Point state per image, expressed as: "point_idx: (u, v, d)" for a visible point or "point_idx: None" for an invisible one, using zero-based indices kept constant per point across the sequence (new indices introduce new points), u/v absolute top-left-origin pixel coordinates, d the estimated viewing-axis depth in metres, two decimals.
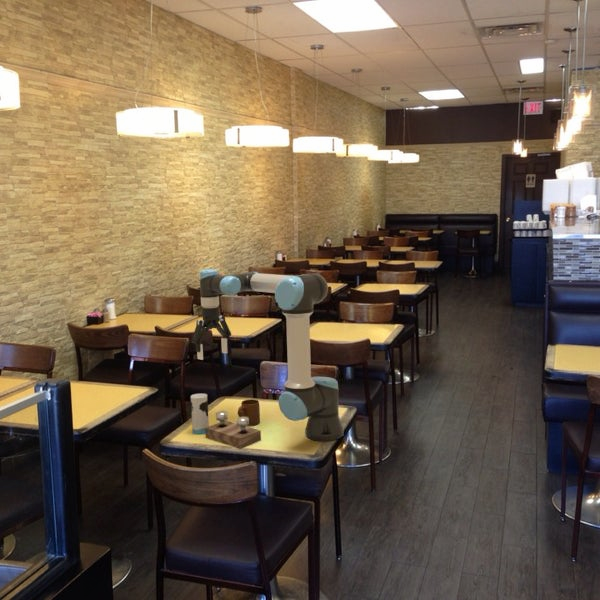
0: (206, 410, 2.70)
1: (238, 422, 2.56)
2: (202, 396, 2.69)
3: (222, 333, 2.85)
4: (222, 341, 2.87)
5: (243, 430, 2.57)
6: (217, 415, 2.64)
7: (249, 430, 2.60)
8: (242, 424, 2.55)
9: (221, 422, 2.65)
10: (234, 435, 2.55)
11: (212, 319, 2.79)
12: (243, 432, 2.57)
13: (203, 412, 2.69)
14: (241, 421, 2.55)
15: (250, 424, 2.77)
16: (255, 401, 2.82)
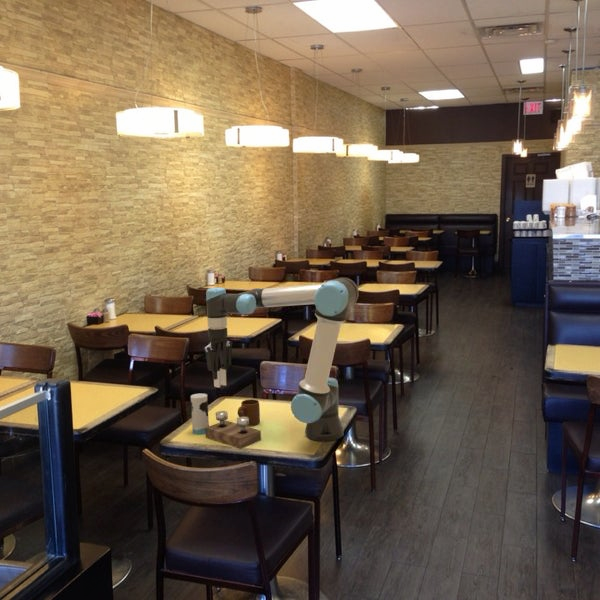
0: (206, 410, 2.70)
1: (238, 422, 2.56)
2: (202, 396, 2.69)
3: (223, 361, 2.63)
4: (220, 372, 2.64)
5: (243, 430, 2.57)
6: (217, 415, 2.64)
7: (249, 430, 2.60)
8: (242, 424, 2.55)
9: (221, 422, 2.65)
10: (234, 435, 2.55)
11: (219, 341, 2.60)
12: (243, 432, 2.57)
13: (203, 412, 2.69)
14: (241, 421, 2.55)
15: (250, 424, 2.77)
16: (255, 401, 2.82)
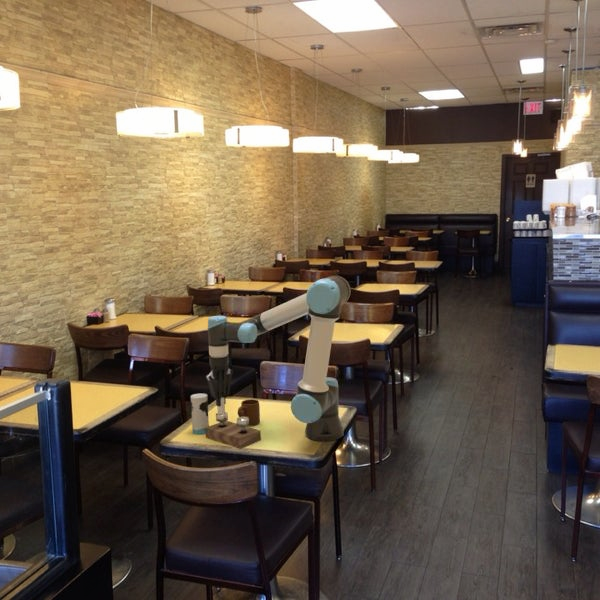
0: (206, 410, 2.70)
1: (238, 422, 2.56)
2: (202, 396, 2.69)
3: (222, 389, 2.64)
4: None
5: (243, 430, 2.57)
6: (217, 416, 2.64)
7: (249, 430, 2.60)
8: (242, 424, 2.55)
9: (221, 423, 2.65)
10: (234, 435, 2.55)
11: (221, 369, 2.62)
12: (243, 432, 2.57)
13: (203, 412, 2.69)
14: (241, 421, 2.55)
15: (250, 424, 2.77)
16: (255, 401, 2.82)
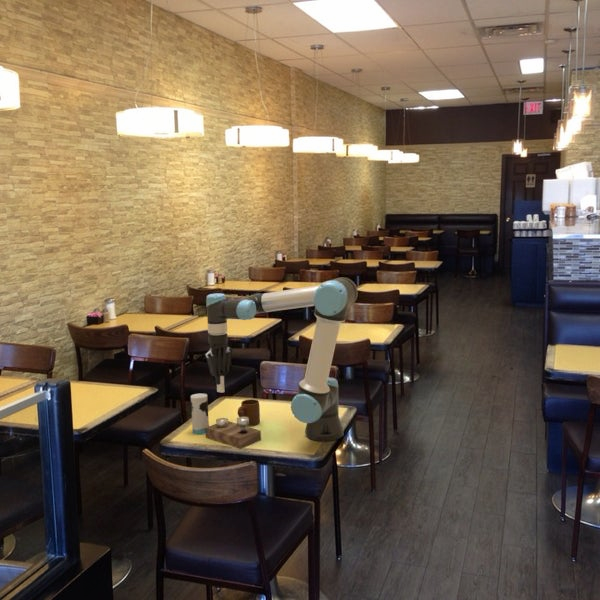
0: (206, 410, 2.70)
1: (238, 422, 2.56)
2: (202, 396, 2.69)
3: (221, 367, 2.63)
4: None
5: (243, 430, 2.57)
6: (217, 422, 2.64)
7: (249, 430, 2.60)
8: (242, 424, 2.55)
9: None
10: (234, 435, 2.55)
11: (220, 347, 2.61)
12: (243, 432, 2.57)
13: (203, 412, 2.69)
14: (241, 421, 2.55)
15: (250, 424, 2.77)
16: (255, 401, 2.82)
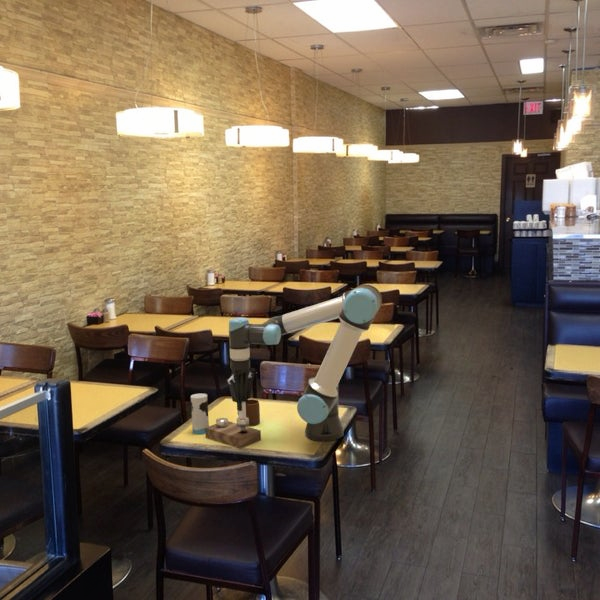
0: (206, 410, 2.70)
1: (238, 422, 2.56)
2: (202, 396, 2.69)
3: (243, 393, 2.56)
4: None
5: (243, 430, 2.57)
6: (217, 422, 2.64)
7: (249, 430, 2.60)
8: (242, 424, 2.55)
9: None
10: (234, 435, 2.55)
11: (242, 372, 2.54)
12: (243, 432, 2.57)
13: (203, 412, 2.69)
14: (241, 421, 2.55)
15: (250, 424, 2.77)
16: (255, 401, 2.82)
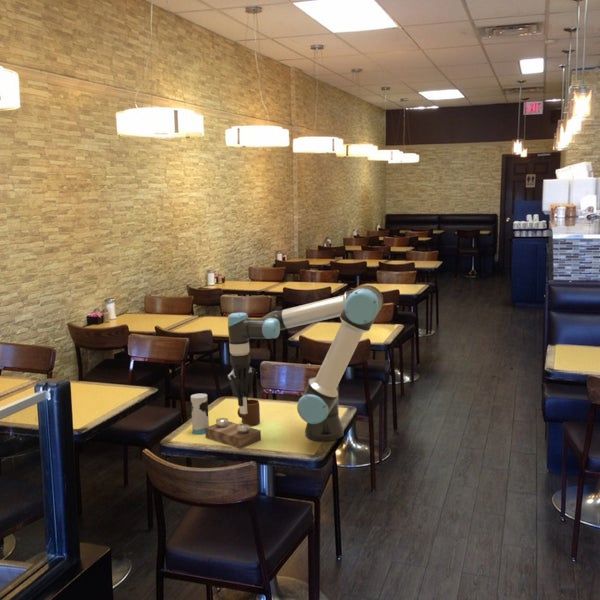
0: (206, 410, 2.70)
1: (238, 429, 2.56)
2: (202, 396, 2.69)
3: (244, 388, 2.56)
4: None
5: None
6: (217, 422, 2.64)
7: (249, 430, 2.60)
8: (243, 431, 2.56)
9: None
10: (234, 435, 2.55)
11: (242, 367, 2.54)
12: None
13: (203, 412, 2.69)
14: (241, 428, 2.56)
15: (250, 424, 2.77)
16: (255, 401, 2.82)
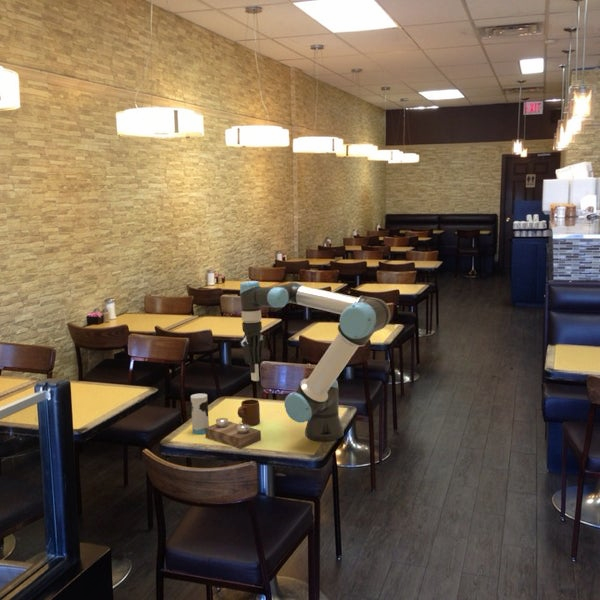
0: (206, 410, 2.70)
1: (238, 429, 2.56)
2: (202, 396, 2.69)
3: (256, 355, 2.61)
4: None
5: None
6: (217, 422, 2.64)
7: (249, 430, 2.60)
8: (243, 431, 2.56)
9: None
10: (234, 435, 2.55)
11: (254, 334, 2.59)
12: None
13: (203, 412, 2.69)
14: (241, 428, 2.56)
15: (250, 424, 2.77)
16: (255, 401, 2.82)
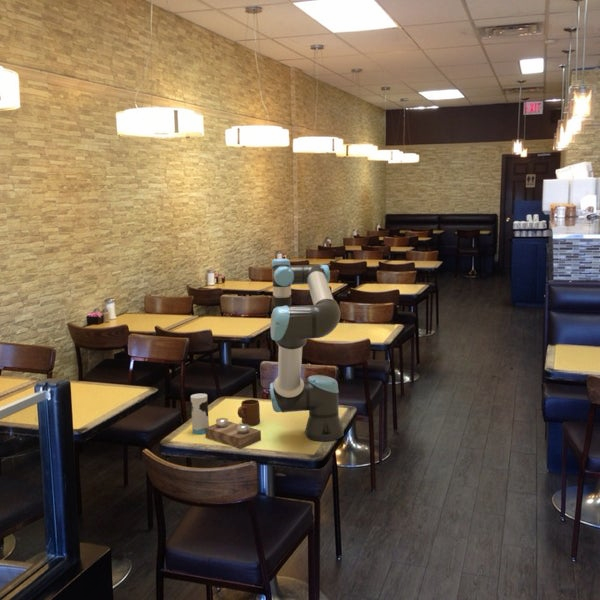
0: (206, 410, 2.70)
1: (238, 429, 2.56)
2: (202, 396, 2.69)
3: None
4: None
5: None
6: (217, 422, 2.64)
7: (249, 430, 2.60)
8: (243, 431, 2.56)
9: None
10: (234, 435, 2.55)
11: None
12: None
13: (203, 412, 2.69)
14: (241, 428, 2.56)
15: (250, 424, 2.77)
16: (255, 401, 2.82)
